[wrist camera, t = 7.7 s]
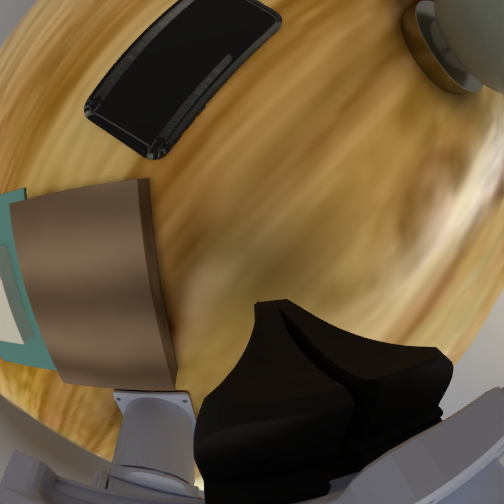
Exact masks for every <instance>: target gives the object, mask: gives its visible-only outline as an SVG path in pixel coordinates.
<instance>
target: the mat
mask: <svg viewBox="0 0 504 504" xmlns="http://www.w3.org/2000/svg"><path fill="white" fill-rule="evenodd" d="M22 200H26V188H22V189H19V190H15V191H12V192H8V193H5V194H2V195H0V246H4V245H8V250H9V255H10V260H11V264H12V268H13V272H14V276H15V280H16V283H17V287H18V290H19V294H20V297H21V300H22V303H23V306H24V309H25V312H26V315H27V318H28V321H29V323H30V326H31V329H32V331H33V335H32V336H31V337H30V339H29V340H28V341H27V342H26V343H25V344H18V343H11V342H6V341H0V356H1V358H2V360H5V361H9V362H13V363H18V364H22V365H27V366H33V367H38V368H44V369H50V370H56V371H57V369H56V367H55V365H54V363H53V361H52V359H51V356H50V354H49V352H48V350H47V347H46V345H45V343H44V340H43V338H42V335H41V333H40V330H39V328H38V325H37V322H36V319H35V317H34V314H33V311H32V308H31V305H30V302H29V299H28V295H27V292H26V289H25V285H24V282H23V278H22V274H21V270H20V266H19V261H18V257H17V252H16V247H15V242H14V236H13V230H12V224H11V216H10V208H9V204H10V203H14V202H18V201H22Z"/></svg>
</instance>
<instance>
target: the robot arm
mask: <svg viewBox="0 0 504 504" xmlns="http://www.w3.org/2000/svg"><path fill="white" fill-rule="evenodd" d="M254 312H255V323H254V328H253V331H252V334H251V337H250V340H249V342H248V345H247V347H246V349H245V351H244V353H243V355H242V356H241V358H240V360H239V361H238V363H237V364H236V366H235V367H234V369H233V370H232V371H231V372H230V373H229V375H228V376H227V377H226V378H225V379H224V381H223V382H222V383H221V384H220V385H219V386H218V387H217V388H215V389H214V390H213V391H212V392H211V393H210V394H209V395H208V396H207V397H205V398H204V401H203V403H202V406H201V409H200V411H199V414H198V418H197V421H196V417H195V414H194V410H193V407H192V403H191V400H190V396H189V394H188V393H186V392H136V391H119V390H115V391H114V392H113V396H114V398H115V401H116V403H117V405H118V407H119V408H120V410H121V412H122V414H123V419H122V423H121V427H120V431H119V435H118V439H117V443H116V447H115V452H114V456H113V460H112V465H111V468H110V471H109V473H108V472H107V471H105V470H100V472H99V471H98V472H96V473H94V476H93V480H92V485H87V484H83V483H80V482H76V481H73V480H70V479H67V478H64V477H61V476H58V475H56V473H55V472H54V471H53V470H52V469H51V468H50V467H49V466H48V465H46V464H45V463H44V462H42V461H40V460H38V459H36V458H34V457H31V456H29V455H26V454H24V453H22V452H20V451H17V450H14V451H13V453H12V456H11V458H10V460H9V463H8V465H7V467H6V470H5V472H4V475H3V477H2V480H1V483H0V504H504V467H503V466H502V465H501V463H500V462H499V461H498V460H499V459H500V458H501V457H502V456H503V455H504V387H503V388H502V389H501V388H500V387H495V388H493V389H491V390H489V391H487V392H485V393H484V394H482V395H481V396H480V397H478V398H477V399H475V400H474V401H473V402H471V403H470V404H468V405H467V406H465V407H464V408H462V409H461V410H459V411H458V412H456V413H455V414H453V415H452V416H450V417H448V418H447V419H445V420H442V419H441V418H440V417H441V416H442V415H443V411H442V409H441V408H440V407H439V406H438V405H439V403H440V401H441V399H442V397H443V395H444V394H445V392H446V390H447V388H448V386H449V383H450V381H451V378H452V374H453V364H452V362H451V361H450V360H449V359H448V358H447V357H446V356H445V355H444V354H443V353H442V352H441V351H440V350H439V349H437V348H436V347H417V346H404V345H397V344H390V343H385V342H380V341H376V340H372V339H368V338H364V337H361V336H358V335H355V334H352V333H350V332H347V331H344V330H342V329H340V328H337V327H335V326H333V325H331V324H329V323H327V322H325V321H323V320H321V319H319V318H318V317H316V316H314V315H312V314H311V313H309V312H307V311H306V310H304V309H303V308H301V307H299V306H298V305H296V304H294V303H293V302H291V301H289V300H287V299H283V300H274V301H264V302H257V303H256V304H255V305H254ZM194 460H195V462H196V465H197V467H198V469H199V471H200V474H201V476H202V478H203V480H204V495H205V497H202V496H199V487H197V486H194V483H195V471H194ZM107 473H108V475H107Z"/></svg>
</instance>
